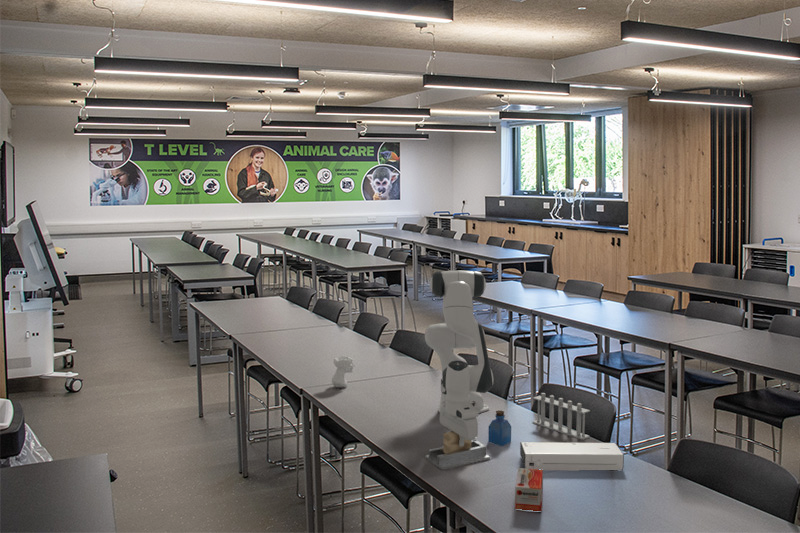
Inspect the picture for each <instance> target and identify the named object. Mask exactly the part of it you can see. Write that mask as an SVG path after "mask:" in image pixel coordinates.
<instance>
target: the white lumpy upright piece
mask: <svg viewBox="0 0 800 533" xmlns="http://www.w3.org/2000/svg"><path fill="white" fill-rule="evenodd" d="M333 365H334V366H335V367H336V370H335V373H334V375H333V376H332V378H331V384H332V385H333V387H335V388H347V387H348V382H347V380H346V378H345V375H346V373H347V374H351V373H353V371H354V367H355V364H354V362H353V358H352V357H349V356H346V355H341V356H338V357H337V358H336V357H334V358H333Z"/></svg>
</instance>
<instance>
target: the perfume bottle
mask: <svg viewBox="0 0 800 533" xmlns="http://www.w3.org/2000/svg"><path fill="white" fill-rule="evenodd" d="M504 413H505V411H504V410H496V411H495V415H494V416H495V419H492V421H491V422H490V424H489V425H488V430H487V431H488V437H487V438H488V439H487V440H488V441H487V442H488V443H491V444H494V445H496V446H499V447H503V446H505V445H507V444H509V443H511V442H512V425H511V423H510V422H509V420H508V419H505V414H504Z"/></svg>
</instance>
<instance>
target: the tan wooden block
mask: <svg viewBox="0 0 800 533" xmlns="http://www.w3.org/2000/svg"><path fill="white" fill-rule="evenodd" d="M459 440H460V438H459V435H458V434H457V433H455V432H443V447H444V453H451V452H455V451H460V450H464V449H469V448H471V441H472V440H467V439H465V441H464V446H462V447H460V446H459V445H458V441H459Z"/></svg>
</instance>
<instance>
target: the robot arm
mask: <svg viewBox="0 0 800 533" xmlns="http://www.w3.org/2000/svg"><path fill="white" fill-rule="evenodd" d="M486 284H487V282H486V278H485V276H484V274H483V273H482V272H481V271H477V270H474V271H472V270H464V269H461V270H459V269H458V270H443V271H442V270H439V271H437V270H436V271H434V272H433V273H432V275H431V278H430V281H429V288H430V291H431V293H432V295H434V296H435V297H438V298H441V299H442V315H443V317H444V318H443V319H444V322H443V323H435V324H429V325H428V327H427V328H426V330H425V332H424V340H425V343H426V345H427V346H428V347H429V348H431V349H432V350H433V351H434V352H435V353H436V354H437V356H438V358H439V361H440V364H441V379H440V392H441V394H440V395H441V396H440V401H439V407H438V409H437V410H438V412H439V423H440V425H442V426H443V427H445V428H447V429H448V430H449V432H455V433H457V434H458V435H459V438H460V440H459V441H458V445H459V446H460V447H462V446H464V441H465V439H467V440H471V441H472V440H476V439H477V437H478V433H479V432H478V430H479V426H478V425H479V424H478V417H479V414H480V413H484V412H486V411H489V410H490V408H489V406H488V404H486V403H484V402H485V401H484V398H483V395H482V394H481V393H483V394H486V393H487V392H488V391H490V390H491V389H492V388H493V385H494V373H493V370H492V369H491V364H490V358H489V354H488V348H487V343H486V342H487V341H486V338H485V335H486V334H485V331H484V328H483V326H482V324H481V323H480V322H479V321H477V319H476V317H475V314H474V303H473V298H479V297H481V296H483V294H484V292H485V290H486V286H487V285H486ZM474 348H475V351H476V356H477V364H475V365H470V364H468V362H467V361H466V359H464V357H462V356H461V355H458V354H456V353H454V350H455V349H460V350H461V349H466V350H467V349H474Z"/></svg>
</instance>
